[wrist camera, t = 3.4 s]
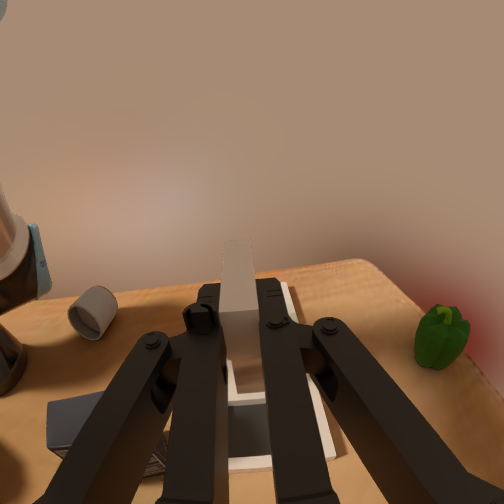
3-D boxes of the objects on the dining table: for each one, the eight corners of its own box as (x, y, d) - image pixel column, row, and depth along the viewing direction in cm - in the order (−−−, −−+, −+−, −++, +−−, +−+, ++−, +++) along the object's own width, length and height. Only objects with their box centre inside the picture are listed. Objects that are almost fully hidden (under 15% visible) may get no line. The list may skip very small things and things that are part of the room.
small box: (162, 428, 28) (131, 379, 23) (177, 471, 23) (144, 433, 18) (90, 444, 24) (45, 398, 19) (97, 486, 19) (44, 449, 14)
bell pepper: (452, 343, 35) (473, 294, 30) (453, 381, 29) (482, 330, 24) (408, 335, 39) (425, 284, 34) (404, 372, 32) (426, 320, 28)
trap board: (333, 459, 23) (336, 455, 22) (205, 473, 23) (202, 469, 22) (286, 288, 54) (286, 281, 54) (214, 294, 54) (213, 288, 53)
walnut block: (285, 389, 32) (287, 318, 26) (237, 394, 31) (225, 324, 26) (279, 355, 37) (278, 284, 32) (236, 359, 37) (225, 289, 31)
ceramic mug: (125, 314, 49) (112, 280, 46) (108, 343, 42) (91, 307, 38) (84, 311, 50) (71, 280, 46) (66, 337, 43) (49, 304, 39)
